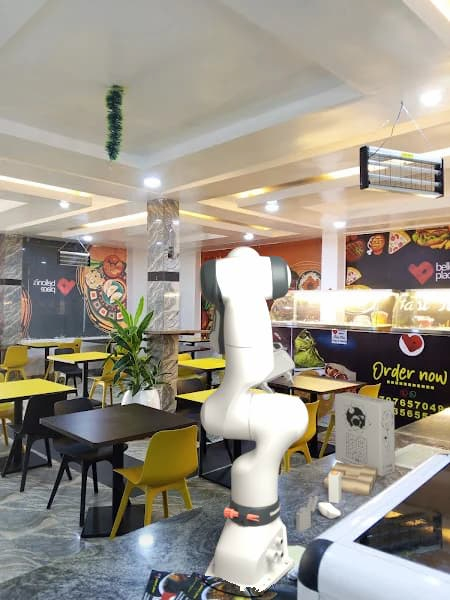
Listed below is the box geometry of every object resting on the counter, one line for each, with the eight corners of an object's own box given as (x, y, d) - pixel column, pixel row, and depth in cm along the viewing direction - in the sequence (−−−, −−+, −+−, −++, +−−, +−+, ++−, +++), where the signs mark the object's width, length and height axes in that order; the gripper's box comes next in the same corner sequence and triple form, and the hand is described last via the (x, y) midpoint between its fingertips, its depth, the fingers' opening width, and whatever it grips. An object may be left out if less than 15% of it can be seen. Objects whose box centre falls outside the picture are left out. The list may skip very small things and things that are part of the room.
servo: (338, 503, 141) (338, 473, 141) (328, 501, 143) (328, 472, 143) (341, 498, 145) (341, 469, 145) (331, 496, 146) (331, 468, 146)
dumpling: (313, 516, 133) (313, 502, 133) (323, 510, 137) (323, 496, 137) (335, 524, 128) (334, 509, 128) (345, 518, 132) (344, 503, 132)
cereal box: (395, 472, 166) (394, 401, 166) (380, 476, 162) (379, 404, 162) (349, 455, 184) (348, 391, 184) (335, 459, 180) (334, 394, 180)
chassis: (369, 496, 146) (369, 486, 146) (324, 488, 152) (324, 479, 152) (377, 476, 162) (377, 467, 162) (336, 470, 169) (336, 462, 169)
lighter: (300, 531, 124) (299, 501, 124) (295, 529, 126) (295, 499, 126) (319, 523, 128) (318, 494, 129) (314, 521, 130) (313, 492, 130)
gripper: (241, 358, 146) (266, 396, 141) (283, 341, 160) (307, 376, 155) (232, 368, 150) (255, 405, 146) (274, 351, 164) (296, 385, 159)
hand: (282, 390), depth 150 cm, fingers open, 8 cm apart
